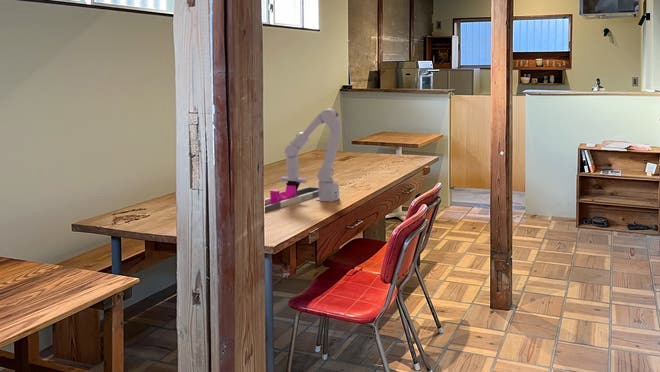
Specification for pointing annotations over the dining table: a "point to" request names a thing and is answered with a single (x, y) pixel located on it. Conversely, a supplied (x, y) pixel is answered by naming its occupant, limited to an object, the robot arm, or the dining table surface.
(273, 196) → the toy block
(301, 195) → the long grey tray strip
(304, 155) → the dining table surface
